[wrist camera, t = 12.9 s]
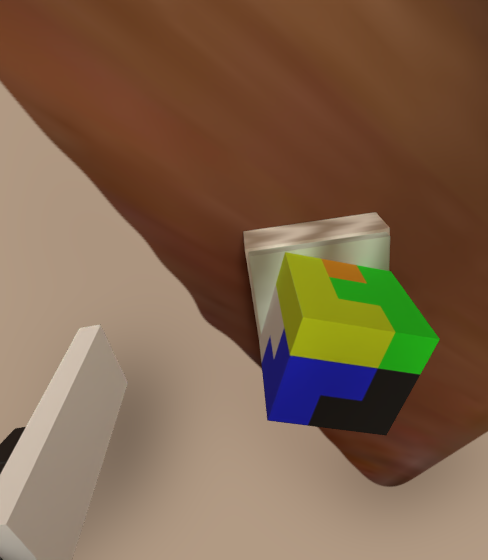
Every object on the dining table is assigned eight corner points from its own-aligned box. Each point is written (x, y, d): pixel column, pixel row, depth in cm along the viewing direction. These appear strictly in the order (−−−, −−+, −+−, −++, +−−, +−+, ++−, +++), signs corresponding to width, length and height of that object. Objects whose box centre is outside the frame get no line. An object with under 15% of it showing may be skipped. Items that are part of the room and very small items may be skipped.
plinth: (375, 212, 40) (393, 232, 36) (373, 320, 46) (389, 349, 42) (243, 231, 40) (245, 253, 36) (259, 335, 47) (262, 365, 43)
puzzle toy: (259, 340, 41) (267, 420, 32) (285, 252, 36) (302, 317, 28) (353, 355, 42) (386, 435, 34) (390, 271, 38) (439, 339, 29)
